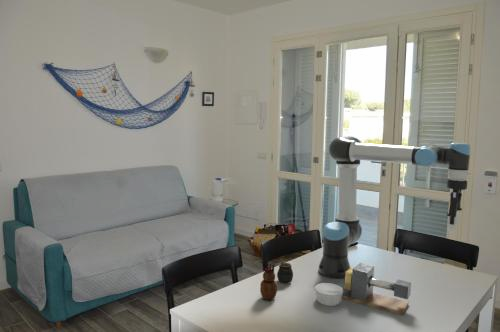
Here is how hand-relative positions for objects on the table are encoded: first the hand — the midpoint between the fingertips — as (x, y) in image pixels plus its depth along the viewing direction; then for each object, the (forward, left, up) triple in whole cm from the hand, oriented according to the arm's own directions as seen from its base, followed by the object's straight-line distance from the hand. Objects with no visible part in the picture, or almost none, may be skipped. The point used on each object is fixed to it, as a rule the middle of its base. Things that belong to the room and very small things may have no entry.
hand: (453, 228), depth 169 cm
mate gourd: (-62, -36, -28) cm, 77 cm away
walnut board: (-24, -32, -27) cm, 48 cm away
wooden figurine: (-59, -55, -27) cm, 85 cm away
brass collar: (-33, -32, -20) cm, 50 cm away
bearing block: (-28, -32, -26) cm, 50 cm away
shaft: (-22, -32, -22) cm, 45 cm away
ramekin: (-38, -42, -28) cm, 63 cm away
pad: (-33, -32, -26) cm, 53 cm away
